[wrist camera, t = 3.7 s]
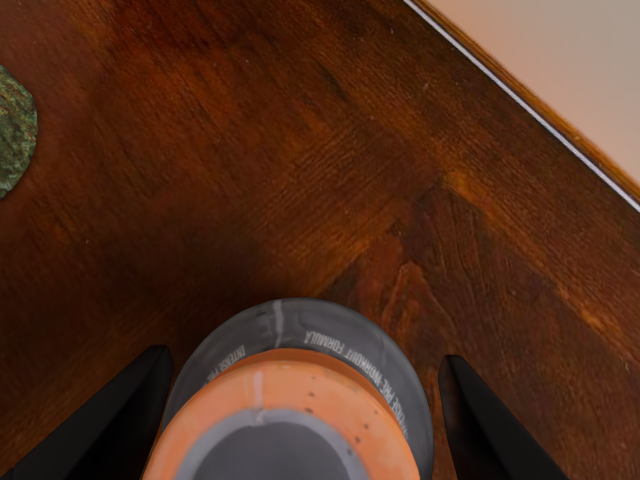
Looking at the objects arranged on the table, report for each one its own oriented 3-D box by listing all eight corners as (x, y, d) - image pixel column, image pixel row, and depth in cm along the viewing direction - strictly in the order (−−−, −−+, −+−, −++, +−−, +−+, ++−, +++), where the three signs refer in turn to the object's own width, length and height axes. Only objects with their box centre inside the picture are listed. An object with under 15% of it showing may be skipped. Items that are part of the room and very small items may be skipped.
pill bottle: (404, 384, 15) (612, 601, 4) (295, 467, 15) (203, 964, 4) (327, 275, 16) (331, 216, 5) (222, 349, 16) (-27, 463, 5)
